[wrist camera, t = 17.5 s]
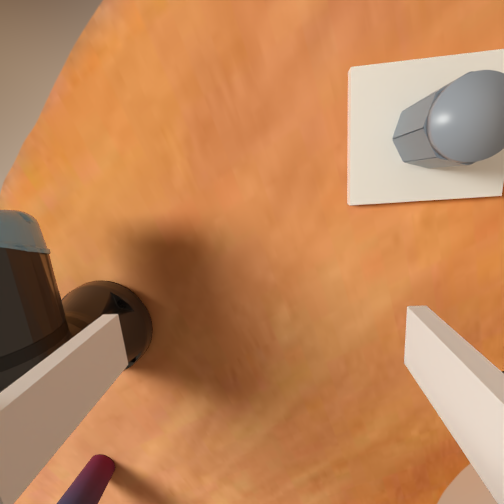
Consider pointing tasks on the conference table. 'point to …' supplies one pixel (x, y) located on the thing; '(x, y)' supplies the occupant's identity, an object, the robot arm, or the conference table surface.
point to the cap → (454, 123)
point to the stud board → (384, 124)
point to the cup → (90, 482)
